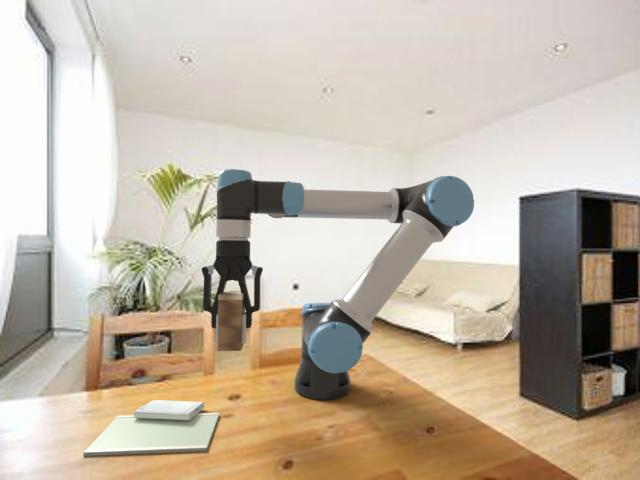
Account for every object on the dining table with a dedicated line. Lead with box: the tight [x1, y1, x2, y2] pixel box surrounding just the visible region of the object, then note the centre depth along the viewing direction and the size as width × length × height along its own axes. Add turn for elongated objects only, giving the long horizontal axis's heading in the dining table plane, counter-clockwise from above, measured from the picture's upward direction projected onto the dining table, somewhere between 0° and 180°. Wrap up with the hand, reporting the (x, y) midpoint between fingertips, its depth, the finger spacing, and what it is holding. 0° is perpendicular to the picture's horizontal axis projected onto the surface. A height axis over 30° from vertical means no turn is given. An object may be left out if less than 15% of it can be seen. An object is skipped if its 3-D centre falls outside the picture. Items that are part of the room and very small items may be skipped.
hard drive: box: [133, 399, 205, 420], centre depth 84 cm, size 2×8×12 cm
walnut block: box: [217, 290, 246, 352], centre depth 84 cm, size 5×7×12 cm
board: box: [83, 412, 220, 457], centre depth 76 cm, size 22×14×1 cm, turn 96°
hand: (231, 341), depth 84 cm, fingers closed on walnut block, 5 cm apart
